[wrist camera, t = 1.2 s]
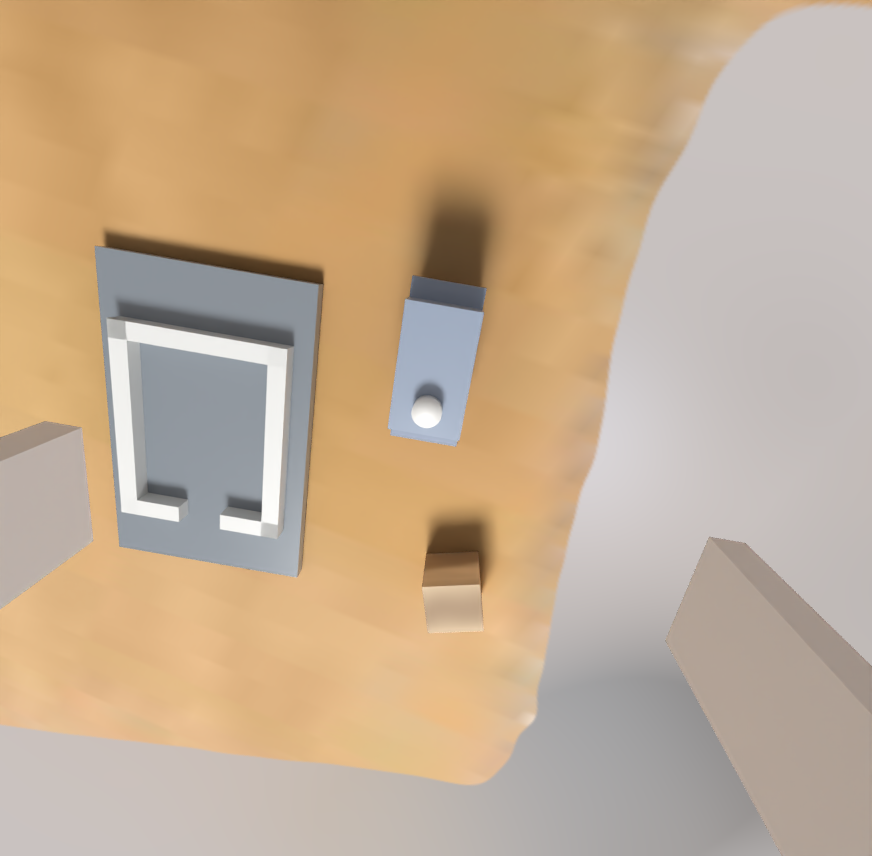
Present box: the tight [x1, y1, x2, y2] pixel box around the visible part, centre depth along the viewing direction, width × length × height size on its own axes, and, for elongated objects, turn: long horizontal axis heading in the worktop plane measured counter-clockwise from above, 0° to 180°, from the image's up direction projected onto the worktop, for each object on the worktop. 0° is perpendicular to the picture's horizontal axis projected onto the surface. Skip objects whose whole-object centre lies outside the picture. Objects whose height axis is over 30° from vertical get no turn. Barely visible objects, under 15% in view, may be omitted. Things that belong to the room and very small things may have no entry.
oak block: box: [422, 551, 484, 633], centre depth 34 cm, size 4×4×4 cm
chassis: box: [95, 246, 323, 577], centre depth 32 cm, size 22×14×2 cm, turn 171°
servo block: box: [388, 275, 487, 446], centre depth 27 cm, size 9×4×7 cm, turn 171°
